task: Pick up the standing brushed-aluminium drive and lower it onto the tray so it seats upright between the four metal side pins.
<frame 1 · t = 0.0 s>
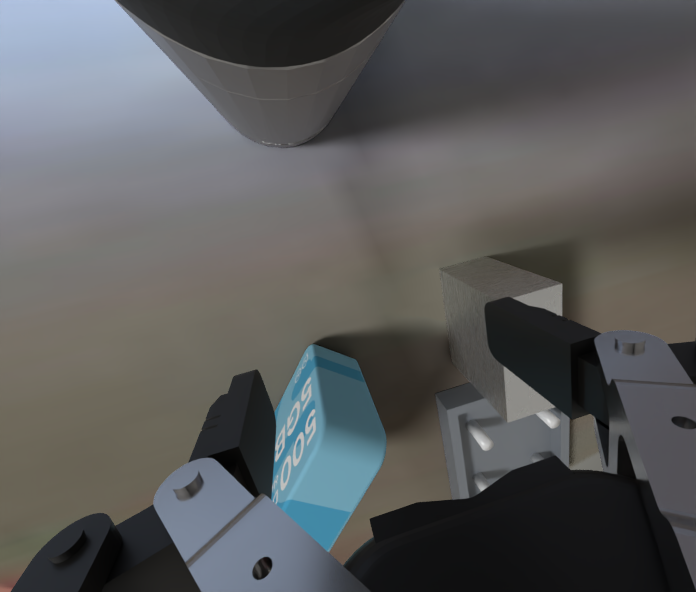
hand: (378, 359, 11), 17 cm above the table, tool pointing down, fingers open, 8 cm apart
drive: (467, 311, 31), on the table
tray: (498, 433, 37), on the table
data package: (306, 396, 31), on the table
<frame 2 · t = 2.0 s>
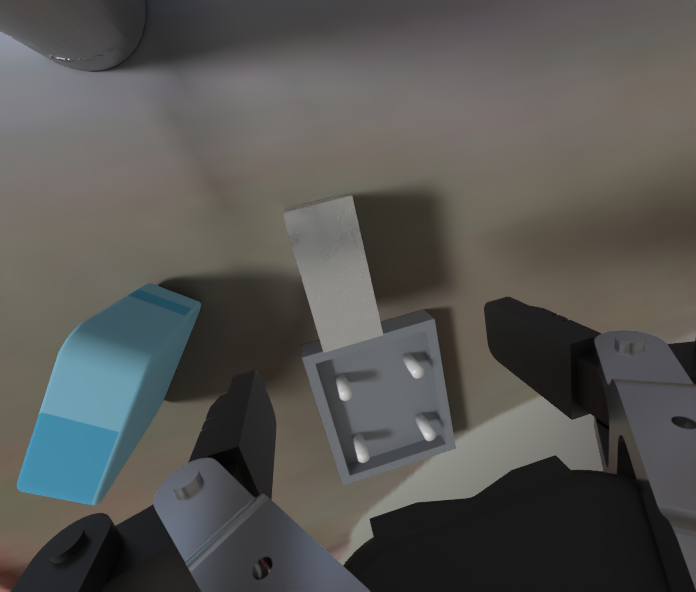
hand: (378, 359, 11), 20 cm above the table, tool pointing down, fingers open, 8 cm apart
drive: (324, 256, 30), on the table
tray: (379, 392, 36), on the table
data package: (159, 344, 30), on the table
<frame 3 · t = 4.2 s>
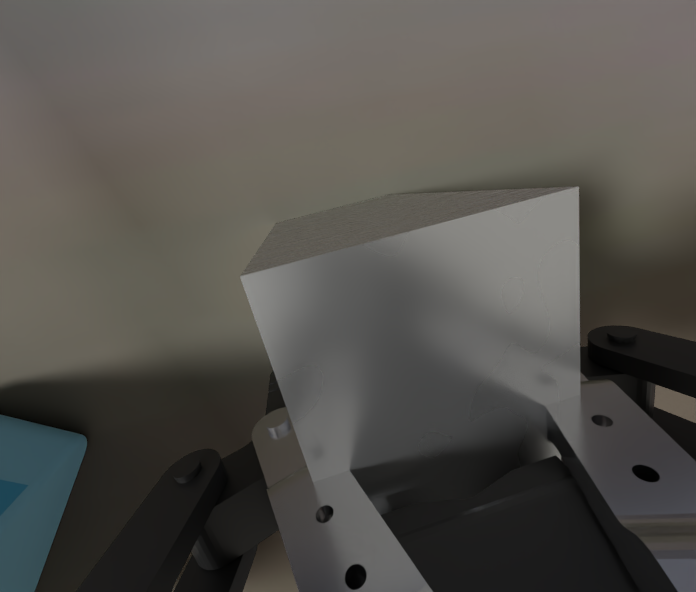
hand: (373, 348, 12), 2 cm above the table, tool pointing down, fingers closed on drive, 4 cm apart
drive: (360, 324, 14), on the table, touching gripper
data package: (5, 512, 14), on the table
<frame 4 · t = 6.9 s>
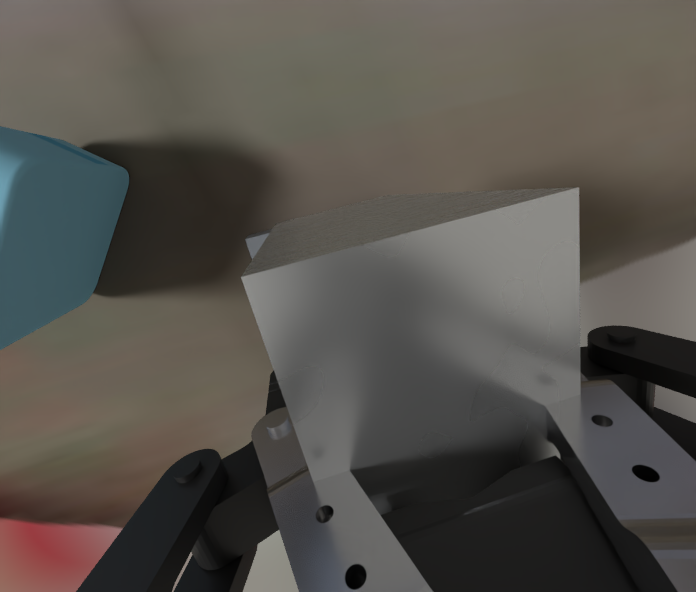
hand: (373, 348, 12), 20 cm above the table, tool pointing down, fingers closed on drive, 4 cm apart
drive: (360, 324, 14), point 18 cm above the table, touching gripper
tray: (339, 296, 33), on the table
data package: (84, 225, 27), on the table
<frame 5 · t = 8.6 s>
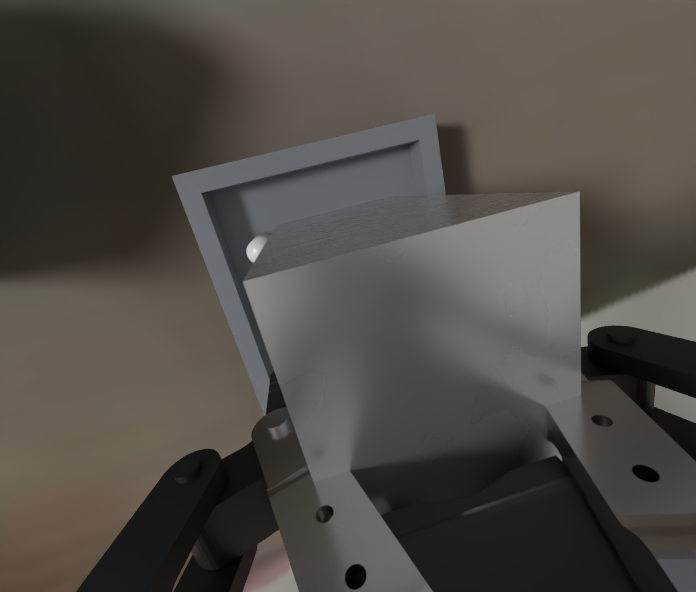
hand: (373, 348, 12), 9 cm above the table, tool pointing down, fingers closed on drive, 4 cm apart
drive: (361, 326, 14), point 7 cm above the table, touching gripper
tray: (339, 285, 21), on the table
when the fingers open (5 cm above the table, at t = 10.0 s): drive drops 1 cm, resting on tray.
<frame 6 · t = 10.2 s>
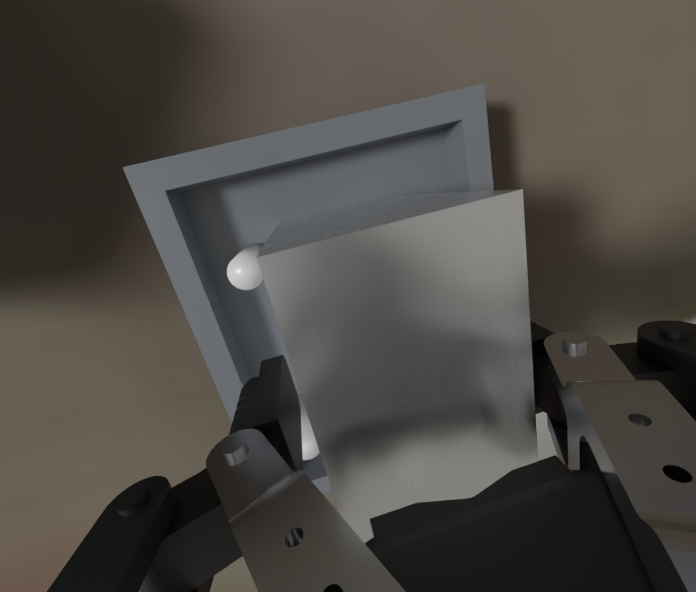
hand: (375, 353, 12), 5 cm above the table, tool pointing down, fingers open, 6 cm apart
drive: (356, 315, 15), point 1 cm above the table, touching tray
tray: (351, 307, 16), on the table
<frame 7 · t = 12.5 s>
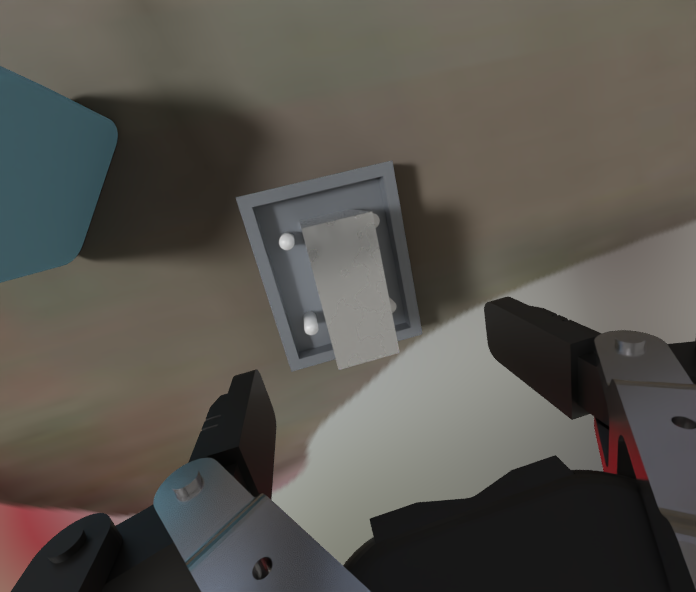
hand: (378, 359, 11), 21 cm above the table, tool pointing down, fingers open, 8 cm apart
drive: (337, 269, 30), point 1 cm above the table, touching tray
tray: (334, 267, 31), on the table
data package: (71, 183, 26), on the table
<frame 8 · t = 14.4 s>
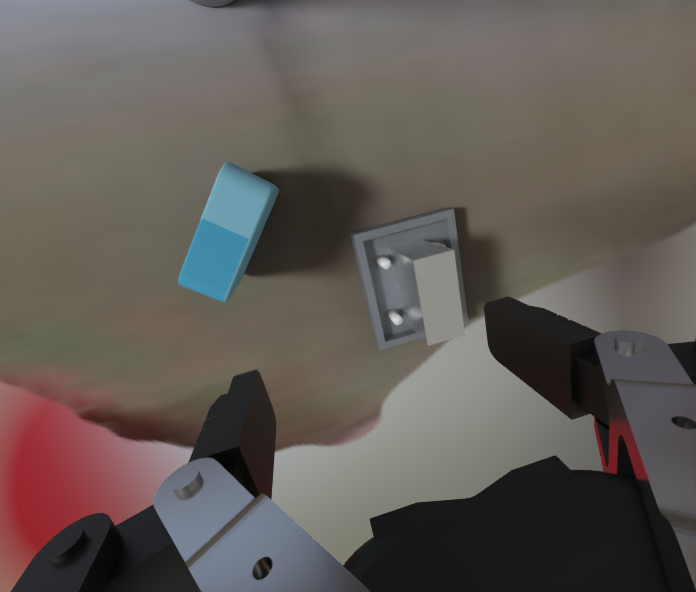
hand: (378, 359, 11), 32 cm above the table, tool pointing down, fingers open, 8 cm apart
drive: (411, 280, 44), point 1 cm above the table, touching tray
tray: (408, 278, 45), on the table
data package: (243, 226, 40), on the table
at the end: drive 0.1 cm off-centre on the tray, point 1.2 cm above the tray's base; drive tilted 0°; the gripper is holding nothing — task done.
